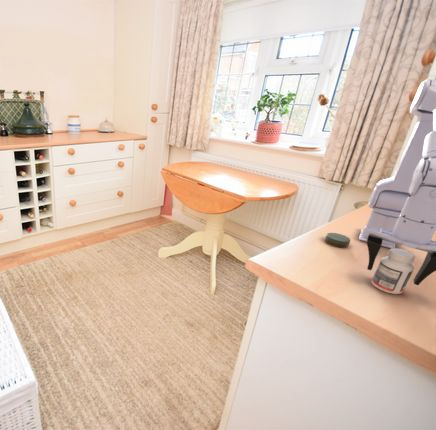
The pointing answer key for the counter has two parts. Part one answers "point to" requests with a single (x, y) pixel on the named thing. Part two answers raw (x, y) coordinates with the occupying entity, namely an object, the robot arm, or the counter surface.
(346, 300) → the counter surface
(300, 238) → the counter surface
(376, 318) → the counter surface
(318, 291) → the counter surface
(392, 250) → the pill bottle
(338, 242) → the coaster stack
